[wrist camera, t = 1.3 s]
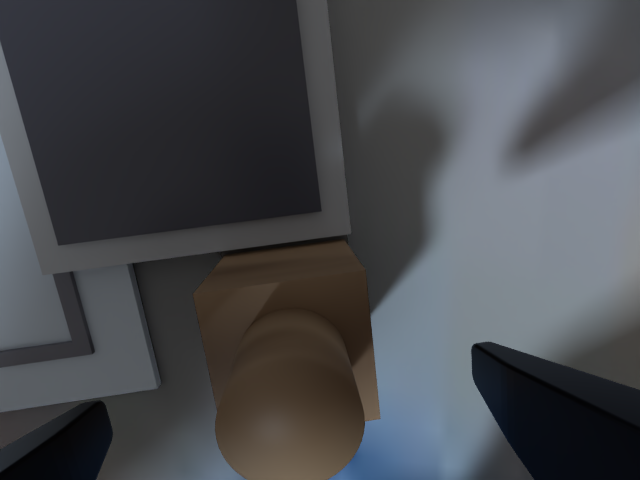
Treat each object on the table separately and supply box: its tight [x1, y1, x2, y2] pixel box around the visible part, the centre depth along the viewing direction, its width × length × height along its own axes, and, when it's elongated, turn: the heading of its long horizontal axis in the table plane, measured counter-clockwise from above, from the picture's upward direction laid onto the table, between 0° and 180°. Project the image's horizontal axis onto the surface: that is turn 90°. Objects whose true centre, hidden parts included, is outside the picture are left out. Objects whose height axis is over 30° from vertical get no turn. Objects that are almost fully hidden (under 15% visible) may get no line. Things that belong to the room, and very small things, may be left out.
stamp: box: [193, 235, 380, 480], centre depth 11 cm, size 5×5×8 cm
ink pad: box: [0, 0, 351, 275], centre depth 12 cm, size 11×11×2 cm
